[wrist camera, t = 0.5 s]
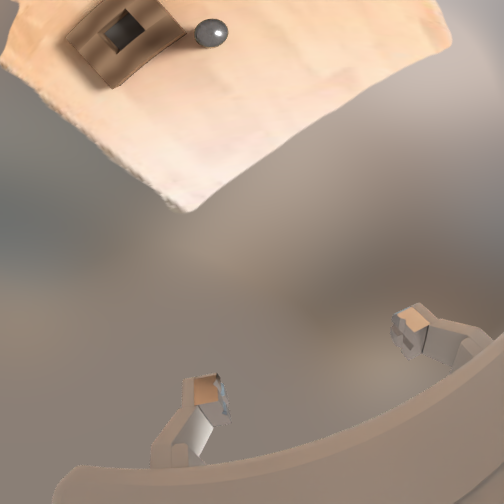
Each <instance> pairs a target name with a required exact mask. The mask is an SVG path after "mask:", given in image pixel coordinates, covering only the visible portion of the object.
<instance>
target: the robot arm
mask: <svg viewBox="0 0 504 504" xmlns="http://www.w3.org/2000/svg"><path fill="white" fill-rule="evenodd" d="M392 322H393V323H394V324H393V325H392V327H391V332H390V334H391V338H392V341H393V342H394V344H395V345H396V346H398V347H401V352H402V354H403V355H404V356H405V357H406V358H407V360H410V359H412V358H414V357H416V356H418V355H420V354H423V355H425V356H427V357H430V358H432V359H434V360H437V361H439V362H441V363H443V364H446V365H448V366H451V367H452V368H451V371H450V373H449V375H448V376H447V377H445V378H444V379H442V380H441V381H439V382H438V383H436V384H435V385H433V386H431V387H430V388H428V389H427V390H425V391H423V392H421V393H420V394H418V395H416V396H415V397H413V398H411V399H409V400H407V401H406V402H404V403H402V404H400V405H398V406H396V407H394V408H392V409H391V410H388V411H387V412H384V413H382V414H380V415H378V416H376V417H374V418H372V419H369V420H367V421H365V422H363V423H360V424H358V425H356V426H353V427H351V428H348V429H346V430H343V431H341V432H338V433H335V434H333V435H331V436H327V437H325V438H322V439H319V440H316V441H313V442H310V443H307V444H303V445H300V446H297V447H293V448H290V449H286V450H282V451H279V452H275V453H271V454H266V455H263V456H258V457H253V458H248V459H243V460H238V461H232V462H226V463H219V464H212V465H207V464H206V463H205V462H204V461H203V460H202V459H201V458H200V457H199V455H200V453H201V452H202V449H203V447H204V446H205V444H206V442H207V439H208V438H209V436H210V434H211V432H212V430H213V427H216V426H221V425H226V424H230V423H232V421H231V414H230V410H229V408H228V404H229V400H228V395H227V391H226V389H225V386H224V384H222V383H221V380H220V376H219V375H218V373H213V374H207V375H201V376H196V377H191V378H186V379H184V380H183V383H182V385H183V386H182V408H179V409H178V410H177V411H176V413H175V414H174V415H173V417H172V418H171V419H170V421H169V422H168V423H167V425H166V426H165V428H164V429H163V430H162V431H161V433H160V434H159V435H158V437H157V438H156V440H155V441H154V442H153V443H152V445H151V455H150V469H122V468H106V467H96V466H87V465H79V466H77V467H75V468H74V469H72V470H71V471H70V472H69V473H68V474H67V475H66V476H65V477H64V478H63V479H62V480H61V481H60V482H59V483H58V485H57V486H56V489H55V491H54V494H53V498H52V503H51V504H504V333H502V335H500V336H499V337H498V338H497V339H496V340H495V341H494V340H493V339H491V338H490V337H489V336H488V335H487V334H486V333H485V332H484V331H483V330H481V329H480V328H478V327H474V326H470V325H466V324H462V323H457V322H453V321H449V320H445V319H438V318H437V317H436V316H434V315H433V314H432V313H431V312H430V311H429V310H428V309H427V308H425V307H424V306H423V305H422V304H421V303H416V304H414V305H412V306H410V307H408V308H406V309H403V310H401V311H399V312H397V313H395V314H393V316H392Z"/></svg>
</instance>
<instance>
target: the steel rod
mask: <svg viewBox="0 0 504 504" xmlns="http://www.w3.org/2000/svg"><path fill="white" fill-rule="evenodd" d="M227 36H228V28H227V26H226V25H225V24H224V23H223V22H222V21H220V20H218V19H207V20H204V21H202V22H201V23H199V24H198V25H197V27H196V28H195V31H194V37H195V40H196V41H197V42H198V43H199V44H200V45H201V46H203V47H205V48H215V47H218V46H219V45H221V44H222V43H223V42H224V41H225V40H226V39H227Z"/></svg>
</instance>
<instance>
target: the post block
mask: <svg viewBox="0 0 504 504" xmlns="http://www.w3.org/2000/svg"><path fill="white" fill-rule="evenodd" d="M185 34H187V33H186V32H185V31H184V30H183V28H182V27H181V26H180V25H179V24H178V23H177V22H176V20H175V19H174V18H173V17H172V16H171V15H170V14H169V12H168V11H167V10H166V9H165V8H164V7H163V6H162V5H161V4H160V2H159V1H158V0H104V1H102V2H101V3H100V4H99V5H98V6H97V7H96V8H94V9H93V10H92V11H91V12H90V13H89V14H88V15H87V16H86V17H85V18H84V19H83V20H82V21H81V22H80V23H79V24H78V25H77V26H76V27H75V28H74V29H73V30H72V31H71V32H70V33H69V34H68V35H67V36H66V37H65V38H66V39H67V40H68V41H69V42H70V43H71V44H72V45H73V47H74V48H75V49H76V50H77V51H78V52H79V53H80V54H81V55H82V56H83V58H84V59H85V60H86V61H87V62H88V63H89V64H90V65H91V66H92V68H93V69H94V70H95V71H96V72H97V73H98V74H99V75H100V76H101V77H102V79H103V80H104V81H105V82H106V83H107V84H108V85H109V86H110V87H111V89H114V88H116V87H118V86H120V85H121V84H123V83H124V82H125V81H126V80H127V79H128V78H129V77H130V76H132V75H133V74H134V73H135V72H136V71H137V70H139V69H140V68H141V67H142V66H143V65H145V64H146V63H147V62H148V61H150V60H151V59H152V58H153V57H155V56H156V55H157V54H159V53H160V52H161V51H163V50H164V49H165V48H167V47H168V46H170V45H171V44H172V43H174V42H175V41H177V40H178V39H180V38H181V37H182V36H184V35H185Z"/></svg>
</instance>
